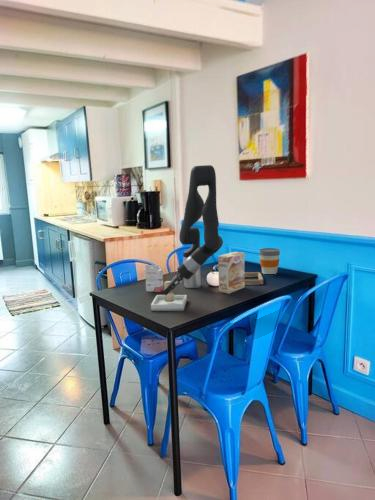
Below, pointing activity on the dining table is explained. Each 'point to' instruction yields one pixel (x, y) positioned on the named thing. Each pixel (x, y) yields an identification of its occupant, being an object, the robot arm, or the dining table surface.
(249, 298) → the dining table surface
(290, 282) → the dining table surface
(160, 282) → the ink cartridge box
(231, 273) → the coffeecake box
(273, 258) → the reusable coffee cup
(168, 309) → the tray
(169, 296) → the gauge plug
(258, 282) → the frame
